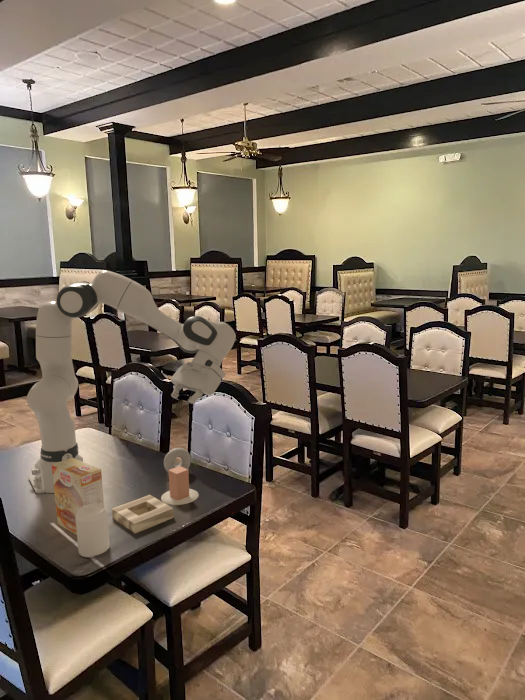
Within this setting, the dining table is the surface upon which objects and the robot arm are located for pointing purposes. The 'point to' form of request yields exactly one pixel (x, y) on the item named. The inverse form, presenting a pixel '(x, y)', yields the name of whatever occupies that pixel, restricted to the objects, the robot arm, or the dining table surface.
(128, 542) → the dining table surface
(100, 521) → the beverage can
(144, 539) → the dining table surface
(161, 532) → the dining table surface
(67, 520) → the coffeecake box
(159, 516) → the holder
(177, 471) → the block
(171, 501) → the cream oval shape
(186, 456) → the donut
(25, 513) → the dining table surface
